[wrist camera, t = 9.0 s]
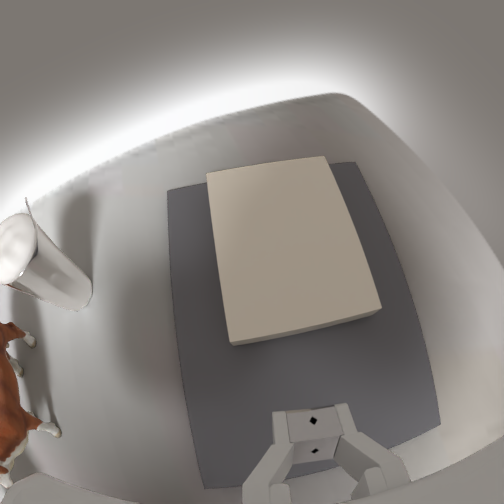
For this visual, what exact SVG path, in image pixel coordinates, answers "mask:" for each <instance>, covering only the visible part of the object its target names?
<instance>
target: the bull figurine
mask: <svg viewBox="0 0 504 504" xmlns="http://www.w3.org/2000/svg"><path fill="white" fill-rule="evenodd" d="M15 338H19V339H22V340H24V341H25V342H26V343H27V344H28V345H29V346H30V347H31V348H34V347H35V346H36V340H35V338H34V337H33V336H30V333H29V332H26V331H23V330H21V329H19V328H18V327H17V326H15V325H14V323H12V322H9V323H7V324H2V323H1V322H0V484H2V485H3V486H4V487H5V488H9V487H11V486H12V485H13V481H12V479H11V477H10V472H11V470H12V468H13V466H14V460H15V458H16V457H17V456H18V455H20V454H21V453H22V452H23V451H24V449H25V446H26V444H27V442H28V434H29V430H32V429H35V430H37V431H42V430H45V431H47V432H49V433H51V434H52V435H53V436H55V437H57V438H60V437H61V430H60V429H59V428H58V427H56V426H55V424H54V423H51V422H49V423H44V422H42V421H41V420H40V419H38V418H37V417H35V416H34V413H33V412H29V411H28V412H26V411H25V410H24V409H23V408H22V407H21V405H20V396H19V387H18V382H17V378H16V374H17V375H18V376H19V377H22V376H23V369H22V368H21V367H20V366H19V365H18V360H17V359H14V358H12V357H11V356H10V355H9V354H8V353H7V351H6V348H9V343H8V342H9V341H11V340H13V339H15ZM15 373H16V374H15Z"/></svg>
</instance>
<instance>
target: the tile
mask: <svg viewBox="0 0 504 504" xmlns="http://www.w3.org/2000/svg"><path fill="white" fill-rule="evenodd" d="M206 178H207V186H208V195H209V203H210V211H211V219H212V227H213V234H214V242H215V249H216V256H217V263H218V270H219V277H220V284H221V290H222V297H223V303H224V310H225V316H226V322H227V328H228V335H229V341H230V343H231V344H232V345H233V346H237V345H243V344H249V343H254V342H260V341H265V340H270V339H275V338H280V337H285V336H290V335H294V334H299V333H304V332H308V331H312V330H317V329H321V328H325V327H329V326H333V325H337V324H341V323H345V322H349V321H353V320H356V319H360V318H364V317H367V316H371V315H373V314H374V313H376V312H377V311H379V310H380V309H381V308H382V306H381V303H380V300H379V296H378V293H377V290H376V287H375V284H374V281H373V278H372V275H371V272H370V269H369V266H368V263H367V260H366V257H365V254H364V251H363V248H362V246H361V243H360V240H359V237H358V235H357V232H356V229H355V227H354V224H353V222H352V219H351V217H350V214H349V212H348V209H347V207H346V204H345V202H344V199H343V197H342V194H341V192H340V190H339V187H338V185H337V183H336V180H335V178H334V176H333V174H332V171H331V169H330V167H329V165H328V163H327V160H326V158H325V156H317V157H308V158H300V159H292V160H284V161H277V162H270V163H263V164H256V165H250V166H244V167H238V168H232V169H227V170H221V171H216V172H210V173H206Z"/></svg>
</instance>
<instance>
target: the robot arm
mask: <svg viewBox="0 0 504 504" xmlns="http://www.w3.org/2000/svg"><path fill="white" fill-rule="evenodd" d="M272 433H273V445H271V446H270V448H269V449H268V450H267V452H266V453H265V455H264V456H263V458H262V459H261V460H260V462H259V463H258V465H257V466H256V467H255V469H254V470H253V471H252V473H251V474H250V475H249V477H248V478H247V479H246V481H245V482H244V483H243V485H242V504H291V497H290V489H289V485H287V484H285V483H283V484H282V482H283V481H284V479H285V477H286V476H287V474H288V472H289V470H290V468H291V467H292V464H299V463H306V462H312V461H320V460H327V459H333V460H334V461H335V462H336V463H338V464H339V465H340V466H341V467H342V468H343V469H344V470H345V471H346V472H347V473H348V474H350V475H351V476H352V477H353V478H354V479H355V480H356V481H357V482H358V484H357V486H356V487H355V489H354V491H353V492H352V494H351V499H352V500H350V501H346V502H341V503H336V504H504V436H502V437H501V438H499V439H497V440H496V441H494V442H493V443H491V444H489V445H488V446H486V447H484V448H483V449H481V450H479V451H477V452H476V453H474V454H472V455H470V456H468V457H466V458H464V459H463V460H461V461H459V462H457V463H455V464H453V465H450V466H448V467H446V468H444V469H442V470H440V471H437V472H435V473H433V474H431V475H428V476H426V477H423V478H421V479H418V480H416V481H413V482H411V480H410V478H409V475H408V473H407V470H406V468H405V465H404V463H403V460H402V458H400V457H399V456H397V455H395V454H394V453H392V452H391V451H389V450H388V449H386V448H385V447H383V446H381V445H380V444H378V443H377V442H375V441H374V440H372V439H371V438H370V437H368V436H367V435H365V434H364V433H362V432H357V429H356V426H355V424H354V421H353V418H352V415H351V412H350V410H349V407H348V404H347V403H342V404H336V405H328V406H322V407H316V408H310V409H302V410H290V411H277V412H272ZM1 504H140V503H135V502H130V501H126V500H122V499H118V498H114V497H110V496H106V495H103V494H99V493H96V492H93V491H90V490H86V489H83V488H80V487H78V486H75V485H72V484H69V483H66V482H64V481H61V480H59V479H56V478H54V477H52V476H49V475H47V474H44V473H41V472H37V473H34V474H32V475H30V476H27V477H25V478H23V479H21V480H19V481H17V482H15V483H14V484H13V485H12V486H11V487H10V488H9V489H8V491H7V492H6V494H5V496H4V498H3V500H2V502H1Z"/></svg>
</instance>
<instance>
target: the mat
mask: <svg viewBox="0 0 504 504" xmlns="http://www.w3.org/2000/svg"><path fill="white" fill-rule="evenodd" d="M328 165H329V167H330V169H331V171H332V174H333V176H334V178H335V180H336V183H337V185H338V187H339V190H340V192H341V194H342V197H343V199H344V202H345V204H346V207H347V209H348V212H349V214H350V217H351V219H352V222H353V224H354V227H355V229H356V232H357V235H358V237H359V240H360V243H361V246H362V248H363V251H364V254H365V257H366V260H367V263H368V266H369V269H370V272H371V275H372V278H373V281H374V284H375V287H376V290H377V293H378V296H379V300H380V303H381V306H382V308H381V309H380V310H379V311H377V312H376V313H374V314H373V315H371V316H367V317H364V318H360V319H356V320H353V321H349V322H345V323H341V324H337V325H333V326H329V327H325V328H321V329H317V330H312V331H308V332H304V333H299V334H294V335H290V336H285V337H280V338H275V339H270V340H265V341H260V342H254V343H249V344H243V345H237V346H233V345H232V344H231V343H230V341H229V335H228V328H227V322H226V316H225V310H224V303H223V297H222V290H221V284H220V277H219V270H218V263H217V256H216V249H215V242H214V234H213V227H212V219H211V211H210V203H209V195H208V186H207V183H203V184H198V185H193V186H188V187H184V188H179V189H174V190H170V191H167V200H168V233H169V254H170V270H171V283H172V295H173V306H174V317H175V326H176V335H177V343H178V351H179V359H180V366H181V373H182V380H183V386H184V392H185V399H186V404H187V410H188V416H189V421H190V426H191V431H192V437H193V441H194V446H195V451H196V455H197V460H198V464H199V469H200V473H201V477H202V481H203V485H204V489H208V488H224V487H236V486H242V485H243V483H244V482H245V481H246V479H247V478H248V477H249V475H250V474H251V473H252V471H253V470H254V469H255V467H256V466H257V465H258V463H259V462H260V460H261V459H262V458H263V456H264V455H265V453H266V452H267V450H268V449H269V448H270V446H271V445H273V433H272V412H277V411H290V410H302V409H310V408H316V407H322V406H328V405H336V404H342V403H347V404H348V407H349V410H350V412H351V415H352V418H353V421H354V424H355V426H356V429H357V432H362V433H364V434H365V435H367V436H368V437H370V438H371V439H372V440H374V441H375V442H377V443H378V444H380V445H381V446H383V447H385V448H386V449H389V448H392V447H394V446H397V445H399V444H401V443H404V442H406V441H408V440H410V439H412V438H415V437H417V436H419V435H421V434H423V433H425V432H427V431H429V430H431V429H433V428H435V427H437V426H439V425H440V424H441V422H440V415H439V408H438V402H437V396H436V391H435V386H434V381H433V376H432V371H431V366H430V362H429V358H428V354H427V349H426V345H425V342H424V338H423V334H422V330H421V327H420V323H419V320H418V316H417V313H416V309H415V306H414V303H413V300H412V297H411V294H410V291H409V288H408V285H407V282H406V279H405V276H404V273H403V270H402V267H401V265H400V262H399V259H398V257H397V254H396V251H395V249H394V246H393V244H392V241H391V239H390V236H389V234H388V231H387V229H386V227H385V224H384V222H383V219H382V217H381V215H380V213H379V210H378V208H377V206H376V204H375V201H374V199H373V197H372V195H371V193H370V191H369V189H368V186H367V184H366V182H365V180H364V178H363V176H362V174H361V172H360V170H359V168H358V166H357V164H356V162H346V163H336V164H328ZM338 466H340V465H339V464H338V463H336V462H335V461H334V460H333V459H327V460H320V461H312V462H306V463H299V464H292V467H291V468H290V470H289V472H288V474H287V476H286V477H285V479H290V478H294V477H299V476H304V475H308V474H312V473H316V472H320V471H324V470H328V469H331V468H335V467H338Z"/></svg>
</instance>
